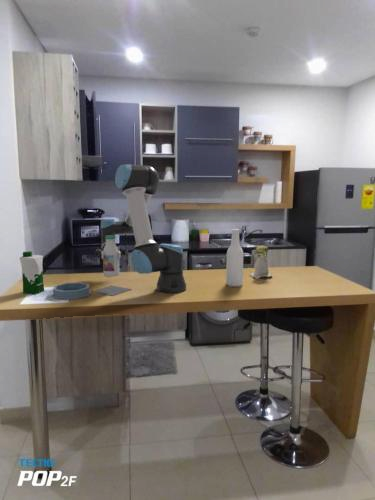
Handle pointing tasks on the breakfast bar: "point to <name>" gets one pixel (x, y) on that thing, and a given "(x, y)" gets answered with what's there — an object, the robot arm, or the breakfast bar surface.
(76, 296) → the bowl
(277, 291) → the breakfast bar surface
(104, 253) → the milk bottle
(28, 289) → the milk carton
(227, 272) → the alcohol
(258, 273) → the figurine
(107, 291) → the mat
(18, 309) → the breakfast bar surface
